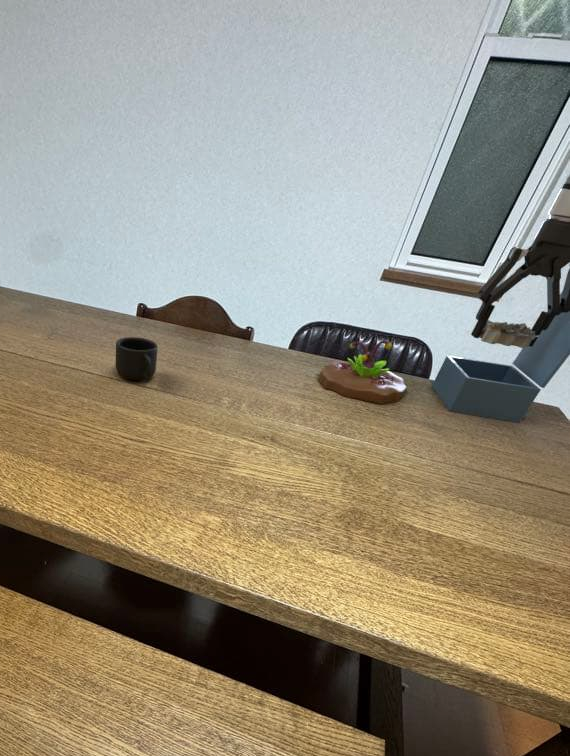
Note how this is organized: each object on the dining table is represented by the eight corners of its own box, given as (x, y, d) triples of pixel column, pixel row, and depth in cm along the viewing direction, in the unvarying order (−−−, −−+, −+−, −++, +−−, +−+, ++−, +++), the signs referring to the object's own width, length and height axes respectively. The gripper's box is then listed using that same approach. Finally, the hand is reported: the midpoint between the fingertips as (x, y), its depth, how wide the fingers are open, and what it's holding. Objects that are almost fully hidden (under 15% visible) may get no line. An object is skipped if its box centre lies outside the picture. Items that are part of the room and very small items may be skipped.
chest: (449, 411, 104) (467, 377, 99) (431, 386, 116) (446, 355, 111) (519, 422, 103) (541, 389, 98) (494, 396, 115) (512, 365, 110)
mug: (109, 370, 103) (109, 337, 98) (145, 367, 106) (147, 336, 102) (129, 391, 95) (130, 357, 90) (167, 387, 98) (170, 354, 94)
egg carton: (482, 343, 98) (493, 323, 95) (469, 333, 103) (479, 314, 101) (532, 350, 97) (545, 330, 94) (516, 339, 103) (527, 320, 100)
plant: (394, 411, 101) (417, 360, 93) (310, 386, 107) (326, 337, 100) (408, 386, 114) (429, 340, 107) (333, 365, 121) (348, 320, 114)
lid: (602, 305, 87) (628, 312, 87) (563, 289, 99) (585, 295, 98) (540, 387, 97) (563, 393, 97) (511, 363, 109) (532, 368, 109)
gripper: (513, 213, 84) (452, 337, 98) (645, 230, 82) (563, 354, 96) (498, 210, 89) (442, 327, 104) (621, 226, 88) (547, 343, 102)
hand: (500, 340), depth 100 cm, fingers closed on egg carton, 11 cm apart
